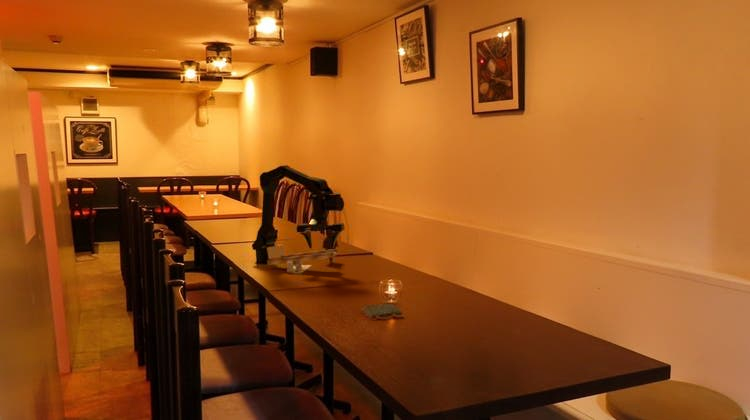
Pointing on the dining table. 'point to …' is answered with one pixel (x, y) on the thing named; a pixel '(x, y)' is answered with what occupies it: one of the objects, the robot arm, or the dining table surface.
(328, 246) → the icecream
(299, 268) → the stand
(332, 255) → the beam
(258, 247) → the robot arm
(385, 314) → the woven mat
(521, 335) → the dining table surface
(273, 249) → the tan block
